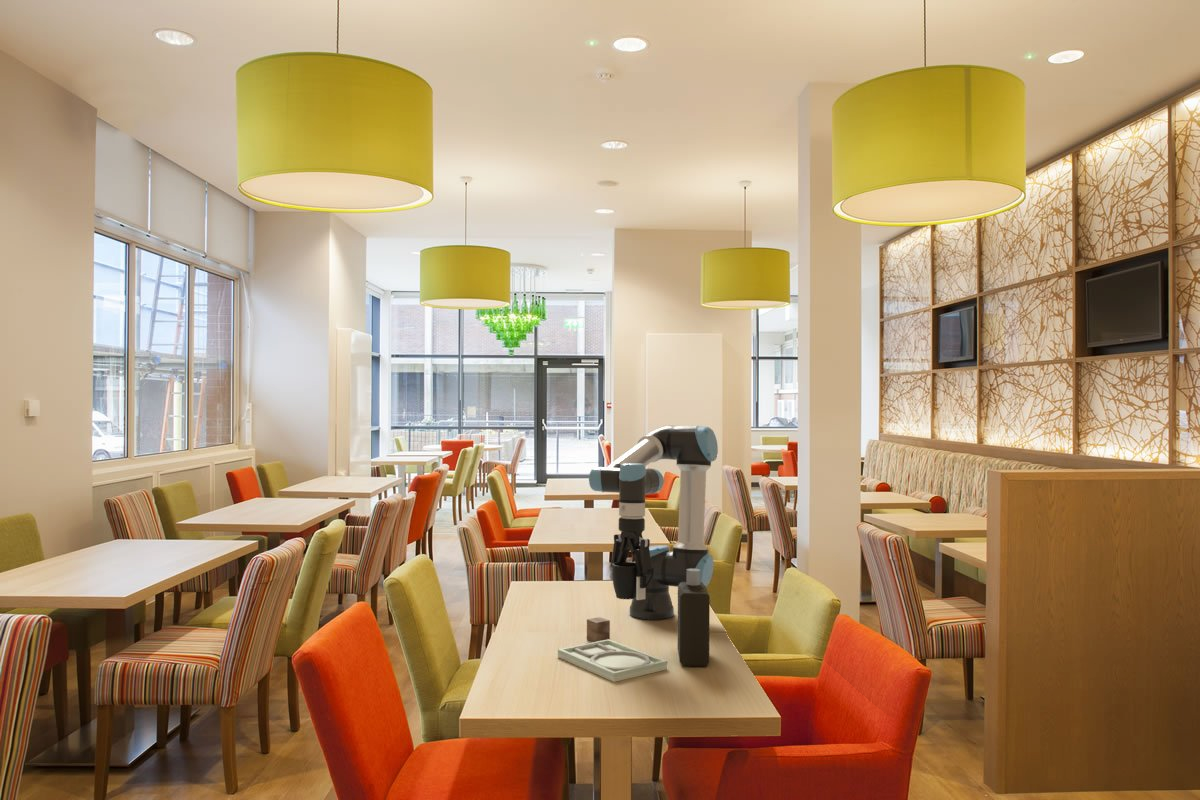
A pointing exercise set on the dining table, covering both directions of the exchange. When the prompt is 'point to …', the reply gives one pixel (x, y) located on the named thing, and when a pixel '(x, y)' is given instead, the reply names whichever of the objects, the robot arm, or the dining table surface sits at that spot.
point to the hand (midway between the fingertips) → (630, 596)
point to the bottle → (693, 621)
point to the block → (598, 629)
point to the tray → (612, 660)
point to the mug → (626, 579)
